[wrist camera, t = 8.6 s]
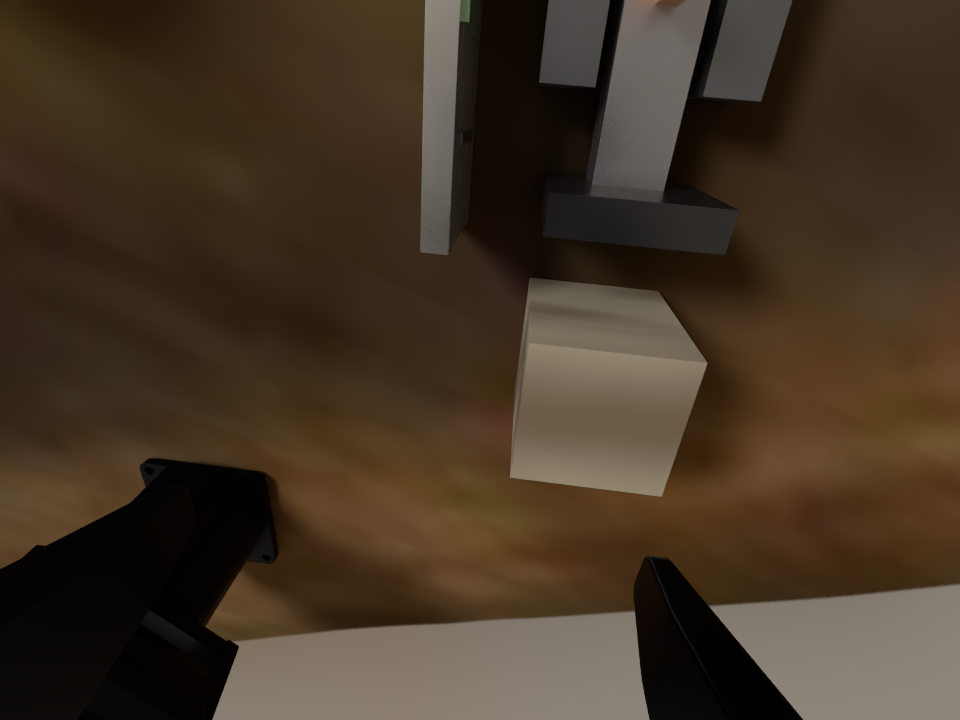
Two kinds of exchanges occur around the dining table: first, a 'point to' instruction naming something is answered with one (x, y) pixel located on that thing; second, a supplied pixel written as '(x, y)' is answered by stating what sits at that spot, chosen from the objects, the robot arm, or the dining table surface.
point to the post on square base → (641, 142)
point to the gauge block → (601, 387)
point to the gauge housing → (562, 82)
